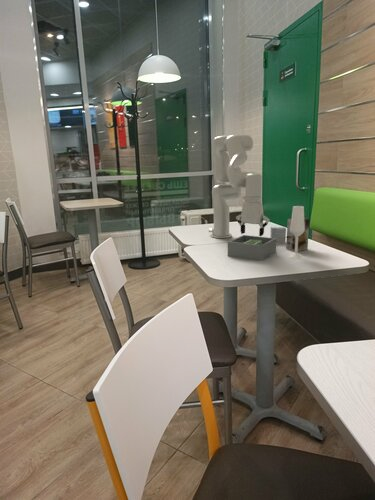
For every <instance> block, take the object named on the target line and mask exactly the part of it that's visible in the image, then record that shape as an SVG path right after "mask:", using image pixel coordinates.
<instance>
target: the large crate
mask: <svg viewBox="0 0 375 500" xmlns="http://www.w3.org/2000/svg"><path fill="white" fill-rule="evenodd" d="M249 240H260V241H262V245H255V244H247V243H244V242H246V241H249ZM276 241H277V238H270V237H267V236H259V235H258V236H257V235H248V234H247V235H246V234H244V235H243V234H242V235H240V236H239V237H236V238H234V239H231V240H228V241H227V257H232V258H238V259H247V260H253V261H260V262H263V261H264V260H266V259H268V258H269V257H272V256H273V255H275V254H277V243H276Z"/></svg>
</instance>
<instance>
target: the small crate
mask: <svg viewBox="0 0 375 500" xmlns="http://www.w3.org/2000/svg"><path fill="white" fill-rule="evenodd" d="M244 243H247V244H255V245H262V241H260V240H249V241H246V242H244Z"/></svg>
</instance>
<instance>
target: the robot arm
mask: <svg viewBox="0 0 375 500" xmlns="http://www.w3.org/2000/svg"><path fill="white" fill-rule="evenodd" d="M253 146H254V141H253V138H252V136H251V135H249V134H231V135H219V136H216V137H214V138H213V141H212V151H213V154H214V178H215V179H214V180H215V181H216V182H217V183H225V184H215V185H214V186H213V187H212V190H211V195H212V197H211V198H212V202H213V228H209V229H208V233H211V234H210V235H211V237H212V238H214V239H227V238H228V239H230V238H231V237H233V236H232V235H233V234H232V233H230V206H229V204H228V203H227V202H226V201H236V200H239V199H240V197H241V194H242V189H245V190H244V191H245V192H244V196H242V200H244V202H243V203H242V207H241V213H240V214H239V215H236V216H235V219H236V220H237V221H236V222H237V223H238V225H239V227H240V234H241V235H243V234H245V233H246V225H245V224H251V225H258V226H259V231H258V232H259V233H258V234H259V235H258V237H263V236H264V234H265V227H266V226H268V224H269V223H270V221H271V219H270V218H268V217H267V216H266V215H264V206H263V202H262V184H263V178H262V177H263V175H262V174H261V173H256V171H255V172H254V171H244V172H243V171H242V169H241V166H242V165H244V164H245V163H246V162H247V160H248V154H247V152H250V151H251V150H252V149H253ZM227 183H229V184H227ZM264 221H265V222H264Z"/></svg>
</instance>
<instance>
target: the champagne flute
mask: <svg viewBox="0 0 375 500" xmlns="http://www.w3.org/2000/svg"><path fill="white" fill-rule="evenodd" d="M291 211H292V212H291V217H290V218H291V225H290V232H291V233H292V234H293V235H294V236H295V237H296V239H295V251H294V252H293V253H291V254H290V255H288V258H291V259H302V258H304V256H303V255H302V254H300V253H299V252H298V251H297V250H298V237H299V236H300V235H302V234H303V232H304V231H305V224H304V218H305V207H304V206H303V205H294V206H292V210H291Z"/></svg>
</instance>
